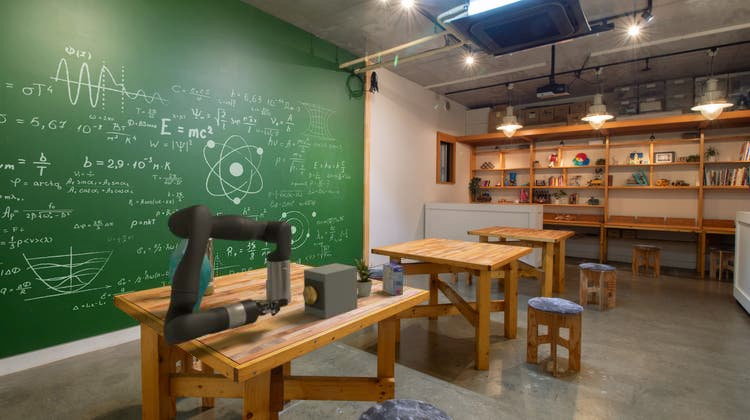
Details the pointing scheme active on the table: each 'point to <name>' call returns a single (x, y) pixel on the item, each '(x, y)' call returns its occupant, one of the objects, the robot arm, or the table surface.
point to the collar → (320, 288)
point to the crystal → (205, 270)
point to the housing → (334, 289)
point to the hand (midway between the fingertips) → (286, 301)
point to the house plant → (364, 279)
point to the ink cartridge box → (393, 278)
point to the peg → (310, 294)
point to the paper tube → (210, 256)
